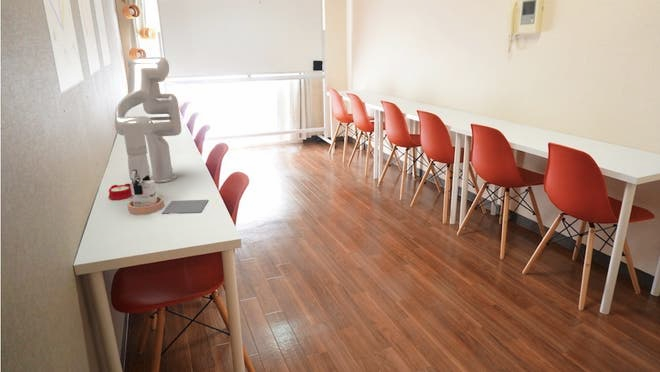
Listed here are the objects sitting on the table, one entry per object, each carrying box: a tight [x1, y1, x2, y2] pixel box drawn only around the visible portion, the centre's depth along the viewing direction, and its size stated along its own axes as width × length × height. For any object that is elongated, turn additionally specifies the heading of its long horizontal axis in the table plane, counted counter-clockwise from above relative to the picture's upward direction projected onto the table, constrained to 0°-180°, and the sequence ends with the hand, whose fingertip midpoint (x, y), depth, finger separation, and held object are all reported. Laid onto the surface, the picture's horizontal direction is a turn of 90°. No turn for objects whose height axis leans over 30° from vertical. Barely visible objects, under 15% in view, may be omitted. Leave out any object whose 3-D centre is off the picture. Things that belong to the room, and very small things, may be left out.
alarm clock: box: [108, 183, 132, 201], centre depth 201 cm, size 10×6×15 cm
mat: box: [161, 199, 209, 215], centre depth 186 cm, size 14×16×1 cm
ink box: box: [129, 180, 158, 207], centre depth 183 cm, size 9×5×12 cm, turn 92°
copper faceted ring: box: [127, 196, 165, 216], centre depth 185 cm, size 14×14×3 cm
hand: (143, 190), depth 182 cm, fingers open, 9 cm apart
